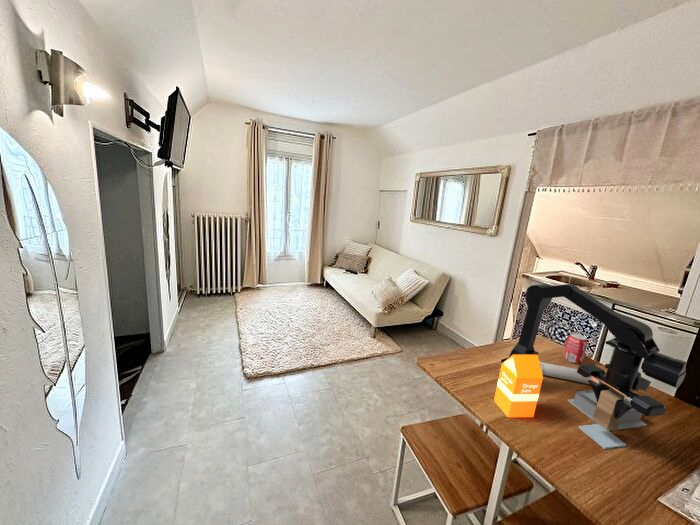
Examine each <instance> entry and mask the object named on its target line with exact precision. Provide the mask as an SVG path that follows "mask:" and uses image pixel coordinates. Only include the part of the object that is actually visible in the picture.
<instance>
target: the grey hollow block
mask: <svg viewBox="0 0 700 525" xmlns="http://www.w3.org/2000/svg"><path fill="white" fill-rule="evenodd" d="M609 390H613V388H612V389H611V388H610V389H609ZM567 402H568V403H570V404H571V405H572V406H574V407H575V408H576V409H578V410H579V411H580V412H581V413H583V414H584V415H585V416H587V417H588V418H589V419H590V420H592V421H593V422H595V421H594V420H593V416H594V413H595V409H596V406H597V400H596V397H595V394H594V391H593V389H589V390H579V391H576V392H575V396H574V398H569V399H567ZM642 416H643V414H641V413H640V412H638V411H637V410H635V409H634V408H632V409H630V410H629V411H628V412H626V413H625V414H624V415H623V416H622V418H621V421H620V424H619V427H618V429H613V430H608V431H609V432H610V431H612V432H613V431H618V430H620V431H621V430H626V429H628V430H629V429H634V428H643V427H647V426H648V424H647V423H645V421H642V420H641V419H642ZM595 424H598V423H597V422H595Z"/></svg>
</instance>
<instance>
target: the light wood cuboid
mask: <svg viewBox="0 0 700 525" xmlns="http://www.w3.org/2000/svg"><path fill="white" fill-rule="evenodd" d="M624 397H625V396H624V395H623V394H621V393H619V392H618V391H616V390H615V389H612V390H603V391H601V393H600V397H599V400H598V403H597V406H596V409H595V413H594V416H593V420H594V421H593V420H592V421H593V422H595V423H596V422H597V423H598V424H599V425H600V426H602V427H603V428H604V429H606V430H612V431H614V430H613V429H618V427H619V424H620V421H621V418H622V416H621V417H620V418H619V419H616V418H615V410H616V404H617V400H619V399H624ZM597 423H596V424H597Z"/></svg>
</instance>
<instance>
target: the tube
mask: <svg viewBox="0 0 700 525" xmlns="http://www.w3.org/2000/svg"><path fill="white" fill-rule="evenodd" d="M539 362H540V367H541V371H542V375H543V376H546V377H550V378H551V377H552V378H556V379H557V378H558V379H561V380H567V381H570V382H577V383H581V384H587V385H590V386H591V384H590V383H589V382H588V380H591V375H590V377H587V378H585V377H583V376H582V375H580V374H578V373H577V369H578V368H573V367H568V366H563V365H557V364H552V363H548V362H542V361H540V360H539ZM605 376H606V374H605Z"/></svg>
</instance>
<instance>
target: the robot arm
mask: <svg viewBox="0 0 700 525" xmlns="http://www.w3.org/2000/svg"><path fill="white" fill-rule="evenodd" d="M554 298H565V299H566V300H568V301H570V302H571V303H572V304H574V305H576V307H578V308H580V309H581V310H583V311H584V312H586V313H587V314H588V315H590V316H592V317H593V318H595V319H596V320H597V321H600V322H601V323H602V325H604V326H605V328H607V330H608V331H609V333H610V334H611V335H613V337H614V338H612V339H609V340H606V341H605V344H606V345H608V346H610V347H613V351H612V354H611V357H610V361H609V363H605V365H604V368H605V369H607V370H606V371H605V369H602V368H600V367H598V366H597V365H595V364H594V363H591V364H590V363H589V364H588V363H587V364H580V365H578V366H577V368H576V369H577V373H578V374H580V375H582V376H583V377H585V378H587V377H590V375H591V380H588V382H589V383H590V384H591V385H590V384H589V385H590V387H591V390H593V391H594V394H595V397H596V400H597V403H598V400H599V397H600V393H601V391H603V390H609V389H611V388H612V390H614V391H615V392H617V393H618V394H620V395H622V396H623V397H624V399H619V400H617V404H616V410H615V418H616V419H619V418H620V417H621V416H623V415H624V414H625V413H626V412H628V411H629V410H630V409H632V408H634V409H635V410H637V411H638V412H640V413H641V414H642V416H646V417H649V418H650V417H659V416H664V415H665V413H666V407H665V405H664V404H663V403H662V402H661V401H658V400H656V399H655V398H653V397H651V396H650V395H648V394H647V395H641V394H639V393H635V392H633V391H639V390H642V391H643V392H646V391H647V389H648V388H649V387H650V385H651V384H652V381H650V380H648V379H647V378H645V377H642V373H643V374H644V375H645V376H646V377H648V378H649V377H650V378H651V379H654V380H656V381H658V382H662V383H663V384H665V385H668V386H670V387H672V388H675V389H678V388H680V386H681V384H682V383H683V382H684V379H685V376H686V375H687V372H686V370H687V367H686V366H687V364H688V363H687V361H683V360H681V359H677V358H673V357H672V356H668V355H665V354H663V353H660V352H661V350H660V348H659V347H658V345H657V343H656V342H655V340H654V337H653V336H654V334H653V329H652V328H651V327H650V326H649V325H647V324H646V323H644V322H642V321H640V320H637V319H635V318H634V317H631V316H627V315H624V314H622V313H619V312H618V311H615V310H614V309H612V308H611V307H609V306H607V305H605V303H602V301H600V300H598V299H597V298H594V297H593V296H592V295H590V294H588V293H587V292H585V291H584V290H582V289H580V288H579V287H578V286H577V285H576V284H573V283H565V284H559V285H558V284H557V285H550V284H547V283H541V284H533V285H530V286H528V287H527V288H526V291H525V302H526V306H527V308H526V309H527V310H526V313H525V317H524V320H523V324H522V328H521V332H520V334H519V338H518V342H517V343H516V344H515V345H514V347H513V348H512V349H511V351H510V352H509V355H508V357H506V358H502V359H500V362H501V364H502V363H503V362H505V361H506V360H507V359H508V358H510V357H511V356H512V355H538V356H539V352H538V351H536V350H535V347H534V346H535V342H536V338H537V334H538V331H539V328H540V324H541V321H542V318H543V313H544V311H545V310H546V308H547V307H548V306H549V305H550V303H551V302H552V300H553V299H554ZM642 360H643V361H642ZM639 369H641V370H642V371H641V372H639V371H640V370H639ZM605 375H606V376H605ZM498 377H499V374H498Z"/></svg>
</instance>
